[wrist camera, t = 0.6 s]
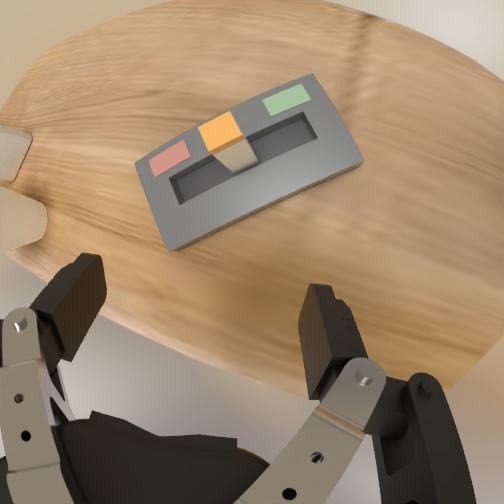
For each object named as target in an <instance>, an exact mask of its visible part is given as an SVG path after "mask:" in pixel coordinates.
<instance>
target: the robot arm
mask: <svg viewBox="0 0 504 504" xmlns="http://www.w3.org/2000/svg"><path fill="white" fill-rule="evenodd" d="M106 295H107V287H106V281H105V275H104V268H103V262H102V258H101V256H100V255H95V254H89V253H81V254H80V255H79V257H78V258H77V259H76V260H75V261H74V262H73V263H70V264H68V265H67V266H65V267H63V268H62V269H60V270H59V271H58V273H57V274H56V275H55V276H54V277H53V279H52V280H51V281H50V282H49V283H48V286H46V287H45V288H44V289H43V290H42V292H41V293H40V294H39V295H38V297H37V298H36V299H35V300H34V302H33V303H32V304H31V306H30V307H29V308H18V309H15V310H13V311H12V312H10V313H9V314H8V315H7V316H6V317H5V319H3V320H1V319H0V427H1V433H2V439H3V444H4V449H5V454H6V456H4V457H3V458H1V459H0V504H323V503H324V502H325V501H326V499H327V498H328V496H329V495H330V493H331V492H332V490H333V489H334V487H335V486H336V484H337V483H338V481H339V480H340V478H341V477H342V475H343V473H344V472H345V470H346V468H347V467H348V465H349V463H350V462H351V460H352V458H353V456H354V455H355V453H356V451H357V450H358V448H359V446H360V444H361V442H362V440H363V438H364V435H365V434H370V435H372V440H373V446H374V452H375V458H376V464H377V471H378V479H379V486H380V494H381V502H382V504H476V498H475V494H474V489H473V485H472V481H471V476H470V472H469V468H468V465H467V461H466V457H465V454H464V450H463V447H462V444H461V440H460V437H459V434H458V431H457V428H456V425H455V422H454V419H453V416H452V413H451V411H450V408H449V405H448V402H447V400H446V397H445V394H444V392H443V389H442V387H441V385H440V383H439V382H438V381H437V379H435V378H434V377H433V376H431V375H429V374H427V373H416V374H414V375H413V376H411V378H410V379H409V380H408V381H403V380H399V379H395V378H391V377H387V376H386V375H385V372H384V370H383V369H382V367H381V366H380V365H379V364H377V363H376V362H374V361H373V360H370V359H369V358H368V356H367V353H366V350H365V347H364V344H363V342H362V339H361V336H360V333H359V331H358V329H357V325H356V323H355V321H354V317H353V315H352V312H351V309H350V308H349V307H348V306H347V305H346V304H345V302H344V301H343V300H340V299H336V298H335V295H334V293H333V290H332V287H331V286H330V285H322V284H313V283H311V284H310V285H309V287H308V290H307V294H306V297H305V300H304V303H303V306H302V309H301V313H300V316H299V324H298V329H299V336H300V342H301V348H302V355H303V361H304V368H305V374H306V381H307V388H308V395H309V400H320V404H319V406H318V407H316V409H315V410H314V411H313V413H312V414H311V415H310V417H309V418H308V419H307V421H306V422H305V423H304V425H303V426H302V427H301V429H300V430H299V431H298V432H297V434H296V435H295V436H294V437H293V439H292V440H291V441H290V442H289V444H288V445H287V446H286V447H285V448H284V450H283V451H282V452H281V453H280V454H279V455H278V457H277V458H276V459H275V460H274V461H273V462H272V464H271V465H270V464H269V463H268V462H267V461H265V460H264V459H262V458H260V457H259V456H257V455H255V454H254V453H252V452H249V451H247V450H244V449H241V448H238V447H237V438H226V437H217V436H208V435H200V434H198V435H183V436H157V435H154V434H152V433H150V432H148V431H146V430H144V429H142V428H140V427H138V426H136V425H134V424H132V423H130V422H128V421H126V420H124V419H120V418H116V417H113V416H109V415H106V414H102V413H99V412H96V411H93V410H92V412H91V415H90V418H89V419H77V420H76V419H75V417H74V415H73V413H72V410H71V408H70V405H69V402H68V398H67V395H66V392H65V387H64V384H63V380H62V376H61V372H60V368H59V366H58V363H59V361H60V359H63V360H66V361H69V362H72V360H73V358H74V356H75V354H76V352H77V350H78V349H79V347H80V345H81V343H82V341H83V339H84V337H85V336H86V334H87V332H88V330H89V328H90V326H91V325H92V323H93V321H94V319H95V318H96V316H97V314H98V312H99V311H100V309H101V307H102V306H103V304H104V302H105V299H106Z"/></svg>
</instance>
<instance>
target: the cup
mask: <svg viewBox="0 0 504 504" xmlns="http://www.w3.org/2000/svg"><path fill="white" fill-rule="evenodd" d="M47 224H48V216H47V211H46V208H45V206H44V204H43V203H41V202H39V201H36V200H34V199H31V198H29V197H26V196H24V195H21V194H19V193H16V192H14V191H11V190H9V189H6V188H4V187H1V186H0V254H2V253H5V252H8V251H10V250H13V249H16V248H18V247H21V246H24V245H27V244H30V243H32V242H35V241H38V240H40V239H41V238H42V237H43V236H44V234H45V232H46V229H47Z"/></svg>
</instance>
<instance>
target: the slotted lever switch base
mask: <svg viewBox="0 0 504 504" xmlns="http://www.w3.org/2000/svg"><path fill="white" fill-rule="evenodd" d="M228 111H230V112H231V114H232V115H233V117H234V118H235V120H236V122H237V123H238V125H239V127H240V128H241V130H242V132H243V133H244V135H245V137H246V138H247V140H248V142H249V143H250V145H251V147H252V149H253V151H254V153H255V155H256V157H257V159H258V161H259V163H260V164H258V165H256V166H254V167H252V168H250V169H248V170H246V171H244V172H242V173H240V174H238V175H235V174H234V173H233V172H232V171H230V170H229V169H228V168H227V167H226V166H225V165H224V164H222V163H221V162H220V161H219V160H218V159H217V158H216V157H214V156H213V155H212V154H211V153H210V152H209V151H208V149H207V147H206V145H205V142H204V140H203V138H202V136H201V134H200V131H199V129H198V127H199V126H201V125H203V124H205V123H207V122H209V121H211V120H213V119H215V118H217V117H218V116H220V115H222V114H224V113H226V112H228ZM363 161H364V159H363V157H362V155H361V153H360V151H359V149H358V147H357V145H356V143H355V142H354V140H353V138H352V136H351V134H350V133H349V131H348V129H347V127H346V126H345V124H344V122H343V120H342V119H341V117H340V115H339V114H338V112H337V110H336V109H335V107H334V105H333V104H332V102H331V100H330V99H329V97H328V96H327V94H326V92H325V91H324V89H323V88H322V86H321V85H320V83H319V82H318V80H317V79H316V77H315V76H314V74H313V73H312V74H309V75H306V76H304V77H301V78H298V79H296V80H293V81H291V82H288V83H286V84H283V85H281V86H278V87H276V88H274V89H271V90H269V91H267V92H264V93H262V94H260V95H257V96H255V97H253V98H251V99H249V100H246V101H244V102H242V103H240V104H238V105H236V106H234V107H232V108H230V109H228V110H226V111H224V112H222V113H220V114H218V115H216V116H214V117H212V118H210V119H208V120H206V121H204V122H202V123H201V124H199V125H197V126H195V127H193V128H191V129H190V130H188V131H186V132H184V133H183V134H181V135H179V136H177V137H176V138H174V139H172V140H170V141H169V142H167V143H165V144H164V145H162V146H160V147H159V148H157V149H156V150H154V151H152V152H151V153H149V154H148V155H146V156H144V157H143V158H141V159H140V160H138V161H137V162H135V163H134V164H135V167H136V170H137V173H138V175H139V178H140V181H141V184H142V186H143V189H144V192H145V195H146V197H147V200H148V203H149V205H150V208H151V210H152V213H153V216H154V218H155V221H156V223H157V226H158V228H159V231H160V233H161V236H162V238H163V241H164V243H165V245H166V248H167V250H168V252H172V251H179V250H181V249H183V248H185V247H187V246H189V245H191V244H193V243H195V242H197V241H199V240H201V239H203V238H205V237H207V236H209V235H211V234H213V233H215V232H217V231H219V230H221V229H223V228H225V227H228V226H230V225H232V224H234V223H236V222H238V221H240V220H242V219H244V218H246V217H248V216H251V215H253V214H255V213H257V212H259V211H261V210H263V209H265V208H268V207H270V206H272V205H274V204H276V203H278V202H281V201H283V200H285V199H287V198H289V197H291V196H294V195H296V194H298V193H300V192H302V191H305V190H307V189H309V188H311V187H314V186H316V185H318V184H320V183H323V182H325V181H327V180H329V179H332V178H334V177H336V176H338V175H341V174H343V173H345V172H348V171H350V170H352V169H355V168H357V167H359V166H360V165H361V164H362V163H363Z"/></svg>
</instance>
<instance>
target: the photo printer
mask: <svg viewBox="0 0 504 504" xmlns="http://www.w3.org/2000/svg"><path fill="white" fill-rule="evenodd" d="M31 141H32V136H31V134H30V133H27V132H23V131H20V130H16V129H12V128H9V127H5V126H1V125H0V180H5V181H14V179H15V177H16V175H17V173H18V170H19V168H20V166H21V164H22V161H23V159H24V157H25V155H26V152H27V150H28V148H29V146H30V144H31Z"/></svg>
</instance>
